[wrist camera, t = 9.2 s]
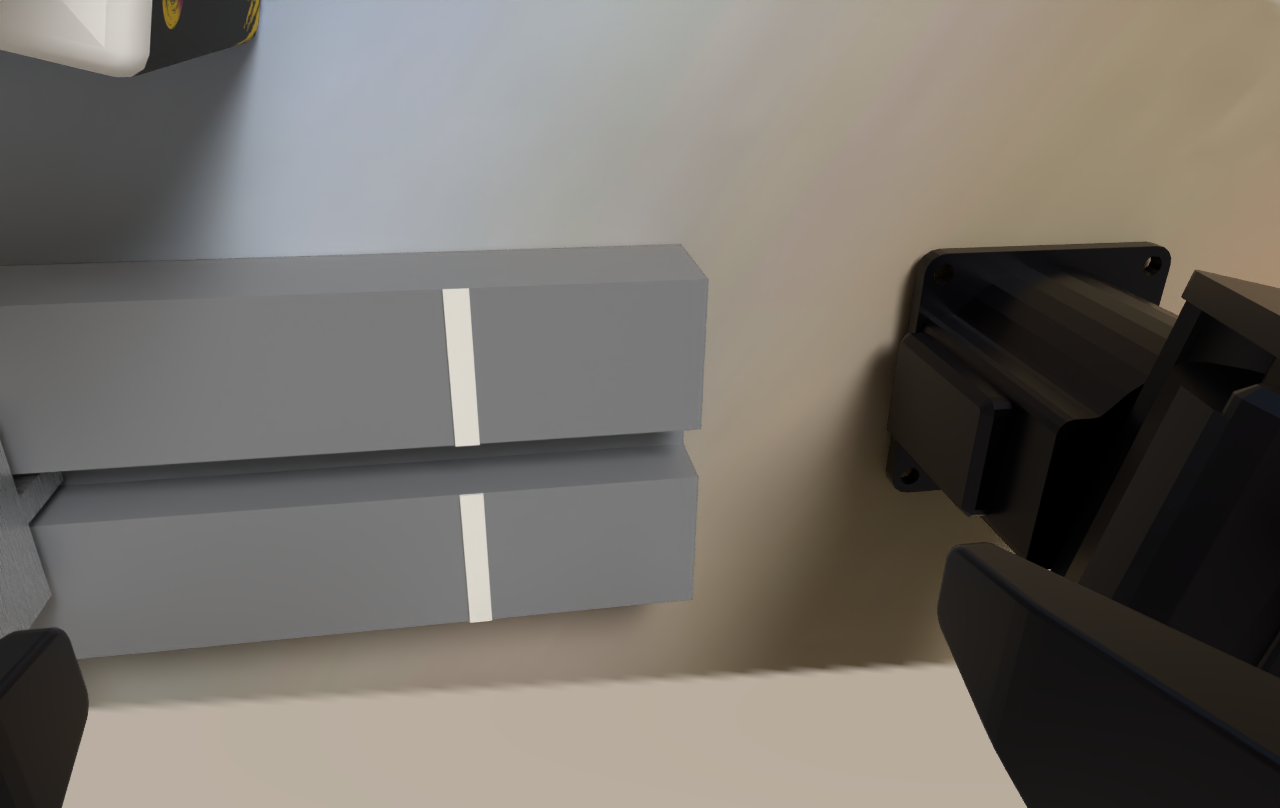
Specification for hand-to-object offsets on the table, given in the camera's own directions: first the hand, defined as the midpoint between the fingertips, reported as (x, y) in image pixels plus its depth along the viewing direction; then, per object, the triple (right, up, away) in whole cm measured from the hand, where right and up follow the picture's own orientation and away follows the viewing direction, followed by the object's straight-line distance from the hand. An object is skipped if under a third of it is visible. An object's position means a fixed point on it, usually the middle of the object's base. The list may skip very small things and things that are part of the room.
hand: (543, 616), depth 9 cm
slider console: (-8, +2, +11) cm, 14 cm away
